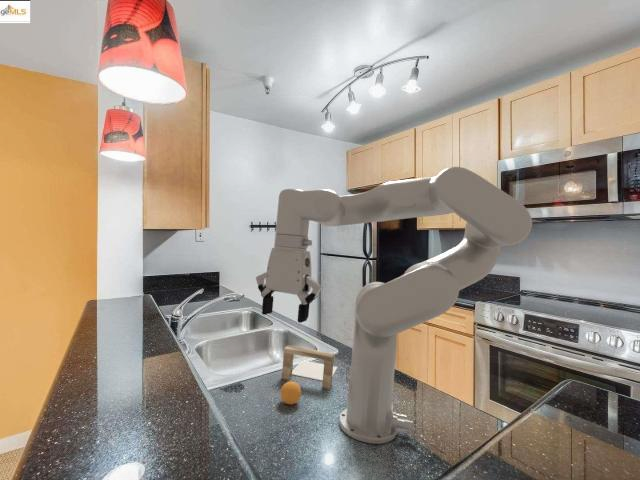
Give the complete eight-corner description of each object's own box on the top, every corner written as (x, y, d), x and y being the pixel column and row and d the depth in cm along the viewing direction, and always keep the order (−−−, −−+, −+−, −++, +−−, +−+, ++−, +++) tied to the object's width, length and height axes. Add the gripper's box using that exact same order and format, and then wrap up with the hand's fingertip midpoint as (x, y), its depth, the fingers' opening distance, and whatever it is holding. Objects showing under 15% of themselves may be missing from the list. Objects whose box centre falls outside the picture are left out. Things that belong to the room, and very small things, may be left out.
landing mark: (337, 367, 99) (337, 366, 99) (329, 382, 88) (329, 381, 88) (302, 360, 103) (302, 360, 103) (289, 374, 91) (289, 373, 91)
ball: (303, 400, 76) (304, 380, 76) (296, 410, 71) (298, 388, 72) (284, 396, 78) (286, 376, 78) (276, 405, 73) (278, 384, 73)
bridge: (285, 374, 90) (288, 345, 91) (331, 384, 87) (334, 353, 87) (281, 378, 88) (284, 348, 88) (329, 389, 84) (331, 357, 84)
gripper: (331, 247, 71) (324, 321, 70) (270, 241, 78) (263, 308, 78) (316, 245, 64) (309, 328, 64) (251, 239, 72) (244, 313, 71)
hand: (284, 317), depth 71 cm, fingers open, 9 cm apart
